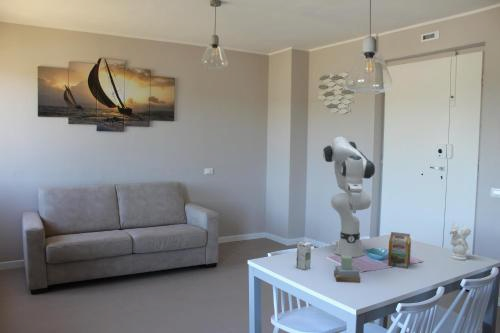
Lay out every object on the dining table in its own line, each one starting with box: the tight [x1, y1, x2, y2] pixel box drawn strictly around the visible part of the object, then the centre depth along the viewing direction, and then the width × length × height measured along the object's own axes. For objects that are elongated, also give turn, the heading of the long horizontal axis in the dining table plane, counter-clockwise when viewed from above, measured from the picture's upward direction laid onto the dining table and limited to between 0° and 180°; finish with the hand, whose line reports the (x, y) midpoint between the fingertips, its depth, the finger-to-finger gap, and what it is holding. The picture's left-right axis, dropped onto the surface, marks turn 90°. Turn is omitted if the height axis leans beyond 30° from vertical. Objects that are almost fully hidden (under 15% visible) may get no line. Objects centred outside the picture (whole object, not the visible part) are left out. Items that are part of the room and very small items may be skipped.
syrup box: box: [296, 241, 312, 270], centre depth 250 cm, size 6×6×14 cm
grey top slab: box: [334, 265, 360, 277], centre depth 234 cm, size 10×10×3 cm
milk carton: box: [387, 231, 412, 270], centre depth 259 cm, size 11×11×19 cm
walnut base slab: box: [333, 269, 361, 284], centre depth 234 cm, size 12×12×3 cm
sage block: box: [340, 255, 353, 270], centre depth 233 cm, size 5×5×6 cm
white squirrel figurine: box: [449, 221, 472, 261], centre depth 273 cm, size 12×12×22 cm
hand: (352, 211), depth 241 cm, fingers open, 8 cm apart
